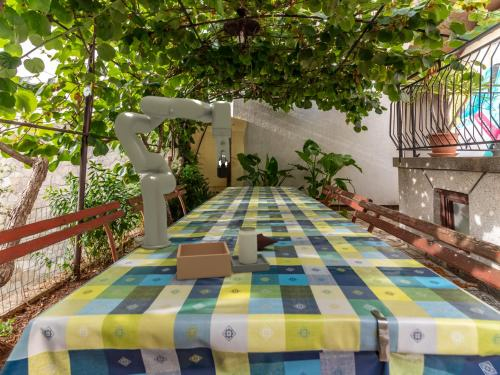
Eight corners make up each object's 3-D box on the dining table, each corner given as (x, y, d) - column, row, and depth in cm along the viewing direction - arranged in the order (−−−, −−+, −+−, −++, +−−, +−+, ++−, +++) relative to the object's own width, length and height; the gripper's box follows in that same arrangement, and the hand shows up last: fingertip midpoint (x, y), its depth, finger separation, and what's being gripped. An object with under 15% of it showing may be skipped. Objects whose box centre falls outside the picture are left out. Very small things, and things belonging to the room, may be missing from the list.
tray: (233, 273, 103) (233, 266, 103) (229, 261, 115) (229, 255, 115) (269, 270, 105) (269, 263, 105) (262, 259, 117) (262, 253, 117)
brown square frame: (177, 279, 98) (176, 257, 97) (179, 263, 114) (179, 244, 113) (230, 275, 100) (230, 254, 100) (225, 260, 117) (225, 241, 116)
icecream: (280, 233, 132) (246, 233, 137) (275, 232, 125) (240, 233, 131) (280, 250, 131) (247, 250, 136) (276, 250, 124) (240, 250, 129)
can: (255, 265, 108) (254, 230, 107) (236, 264, 109) (236, 230, 108) (258, 259, 114) (258, 226, 113) (241, 258, 115) (240, 226, 115)
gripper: (233, 131, 117) (233, 178, 118) (228, 135, 134) (229, 176, 135) (213, 131, 115) (213, 178, 117) (210, 135, 132) (211, 176, 134)
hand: (222, 177), depth 126 cm, fingers open, 9 cm apart
